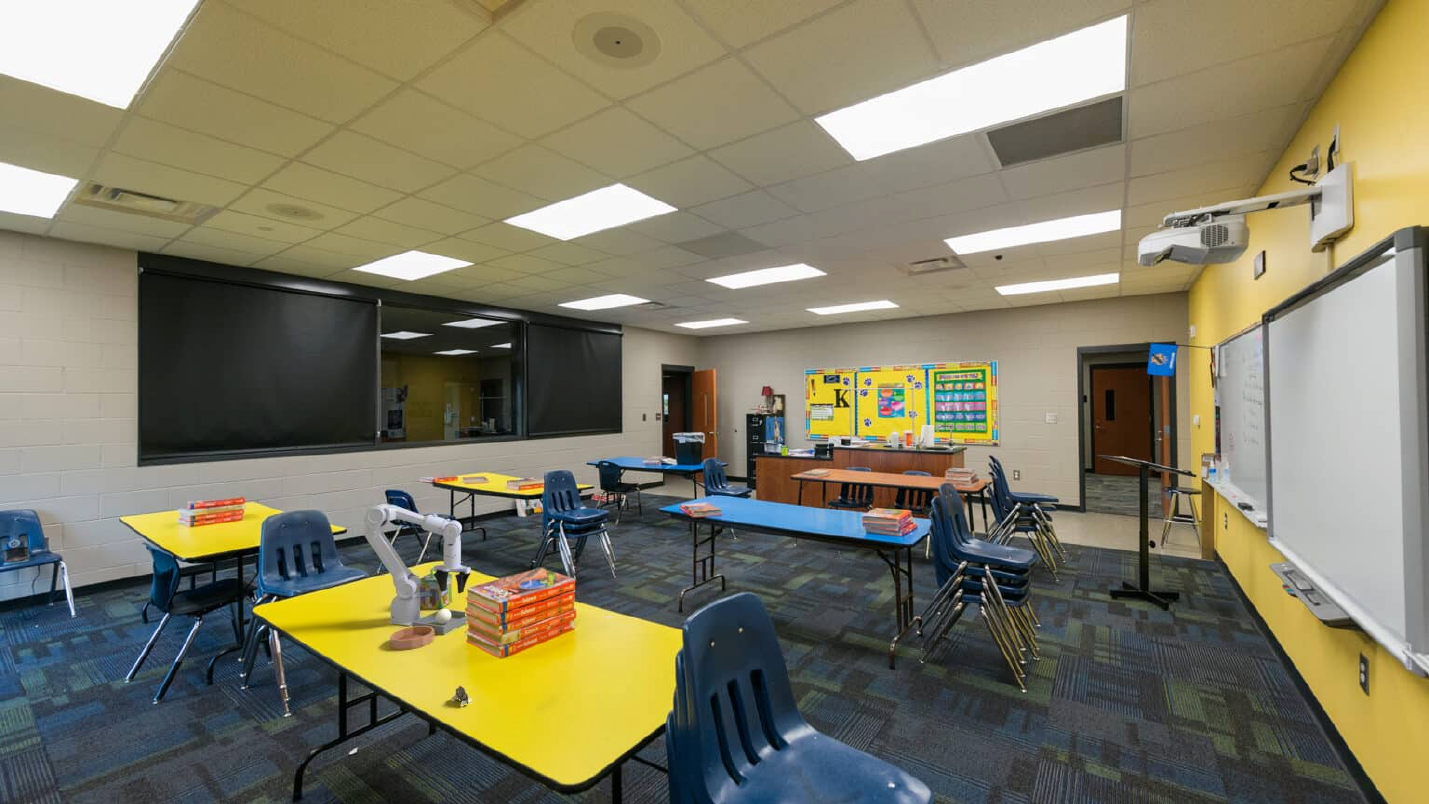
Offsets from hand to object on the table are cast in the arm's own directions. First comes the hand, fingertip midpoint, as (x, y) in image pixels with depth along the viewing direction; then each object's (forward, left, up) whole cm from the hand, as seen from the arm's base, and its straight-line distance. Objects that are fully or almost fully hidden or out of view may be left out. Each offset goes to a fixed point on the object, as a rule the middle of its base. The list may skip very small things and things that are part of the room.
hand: (452, 591), depth 208 cm
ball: (+3, -7, -6) cm, 10 cm away
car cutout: (+53, -49, -10) cm, 73 cm away
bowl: (+5, -22, -9) cm, 24 cm away
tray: (+3, -7, -9) cm, 12 cm away
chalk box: (-16, +8, -10) cm, 20 cm away
